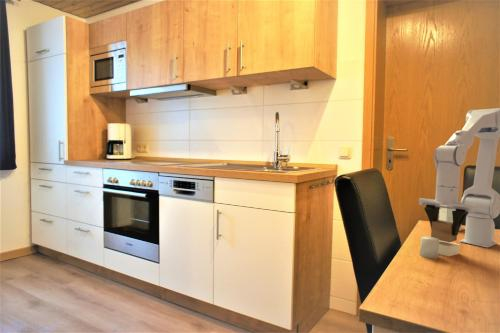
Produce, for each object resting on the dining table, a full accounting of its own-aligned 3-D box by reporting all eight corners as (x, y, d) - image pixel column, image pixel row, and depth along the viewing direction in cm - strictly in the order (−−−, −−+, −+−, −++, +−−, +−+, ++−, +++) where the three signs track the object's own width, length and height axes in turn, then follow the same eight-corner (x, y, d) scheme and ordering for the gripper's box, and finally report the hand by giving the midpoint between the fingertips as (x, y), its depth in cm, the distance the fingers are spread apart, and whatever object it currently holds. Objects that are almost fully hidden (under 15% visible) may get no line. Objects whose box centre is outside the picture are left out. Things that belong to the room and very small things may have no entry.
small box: (461, 231, 126) (463, 204, 125) (445, 229, 127) (447, 203, 127) (453, 226, 134) (454, 201, 133) (438, 225, 135) (439, 200, 134)
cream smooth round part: (424, 252, 94) (425, 235, 94) (441, 257, 90) (442, 239, 90) (416, 255, 91) (418, 237, 91) (434, 259, 88) (435, 241, 87)
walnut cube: (438, 236, 99) (439, 219, 98) (456, 240, 95) (457, 223, 94) (430, 238, 96) (431, 221, 95) (449, 242, 92) (450, 224, 91)
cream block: (437, 249, 99) (438, 239, 99) (458, 254, 94) (459, 244, 94) (427, 251, 96) (427, 241, 96) (448, 257, 91) (449, 246, 91)
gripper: (415, 184, 98) (412, 229, 98) (471, 189, 86) (467, 240, 87) (426, 183, 102) (423, 226, 103) (480, 189, 91) (476, 237, 91)
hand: (444, 233), depth 95 cm, fingers closed on walnut cube, 5 cm apart
